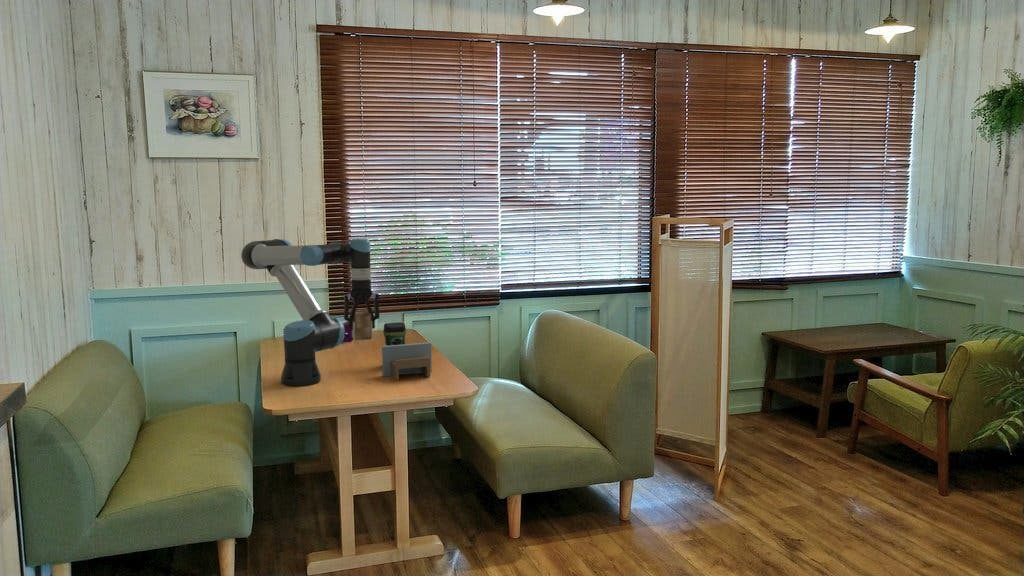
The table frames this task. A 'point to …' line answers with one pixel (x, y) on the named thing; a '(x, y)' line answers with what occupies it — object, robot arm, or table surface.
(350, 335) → the mounting bracket
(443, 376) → the table surface
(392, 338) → the coffee jar
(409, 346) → the wall board
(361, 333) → the brown cylinder
